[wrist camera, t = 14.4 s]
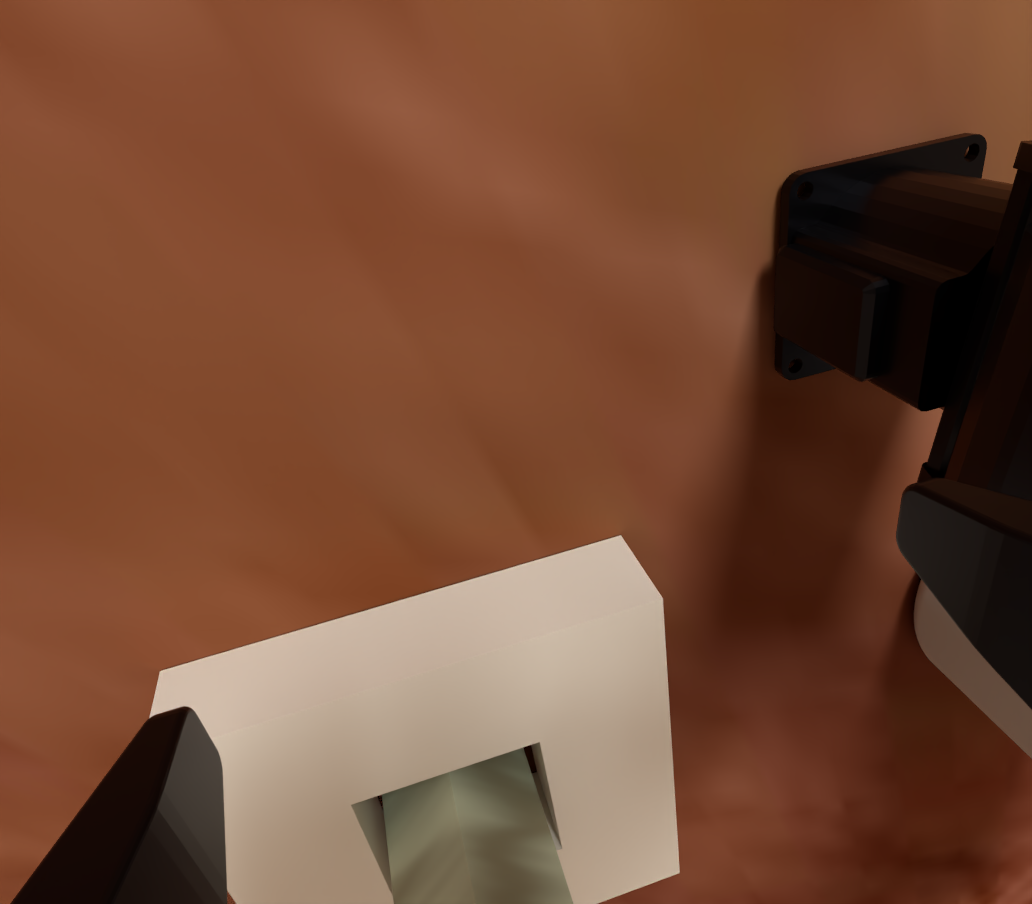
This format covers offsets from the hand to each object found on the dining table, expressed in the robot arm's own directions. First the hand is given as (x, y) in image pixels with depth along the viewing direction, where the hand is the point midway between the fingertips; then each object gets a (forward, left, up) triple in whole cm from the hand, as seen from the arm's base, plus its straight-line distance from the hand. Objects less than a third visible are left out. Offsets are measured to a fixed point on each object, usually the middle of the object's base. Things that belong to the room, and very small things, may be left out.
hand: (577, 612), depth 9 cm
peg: (+3, +18, -13) cm, 22 cm away
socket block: (+3, +18, -13) cm, 22 cm away
